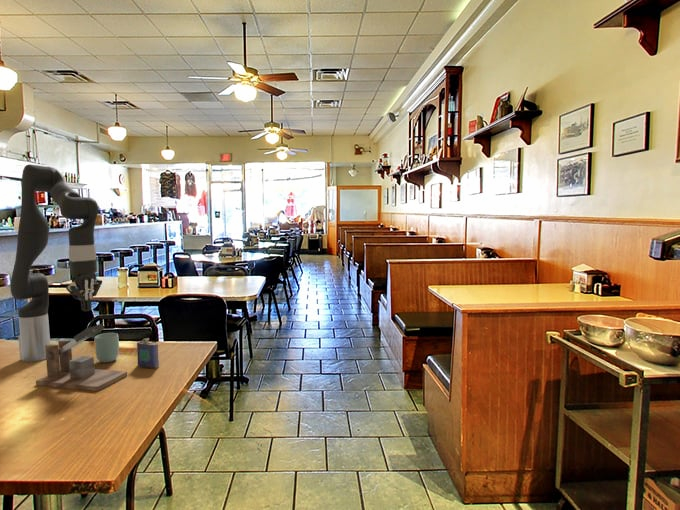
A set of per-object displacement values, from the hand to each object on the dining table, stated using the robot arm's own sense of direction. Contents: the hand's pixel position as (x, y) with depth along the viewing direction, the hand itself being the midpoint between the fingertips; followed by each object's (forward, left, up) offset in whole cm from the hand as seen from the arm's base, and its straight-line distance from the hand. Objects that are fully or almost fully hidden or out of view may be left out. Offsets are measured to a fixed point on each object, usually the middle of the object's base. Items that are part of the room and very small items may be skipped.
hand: (86, 310), depth 139 cm
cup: (-9, +18, -24) cm, 32 cm away
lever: (-5, 0, -12) cm, 12 cm away
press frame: (-3, 0, -24) cm, 24 cm away
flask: (+10, +16, -24) cm, 31 cm away
